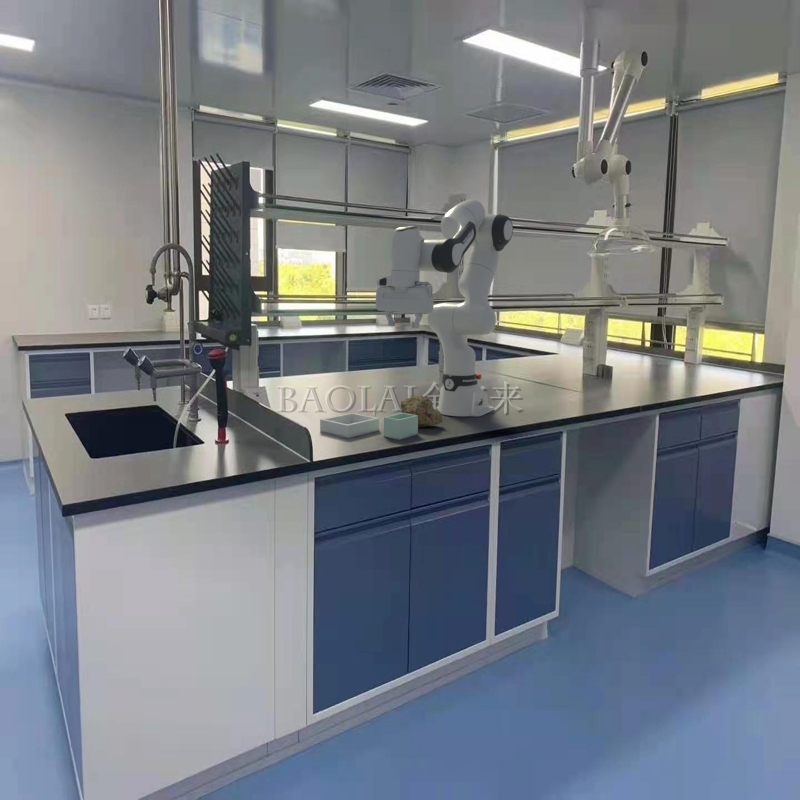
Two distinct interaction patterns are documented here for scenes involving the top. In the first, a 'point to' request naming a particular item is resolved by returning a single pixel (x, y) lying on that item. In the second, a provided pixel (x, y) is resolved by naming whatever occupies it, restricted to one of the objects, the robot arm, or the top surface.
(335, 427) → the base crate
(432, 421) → the rock
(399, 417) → the box
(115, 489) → the top surface
